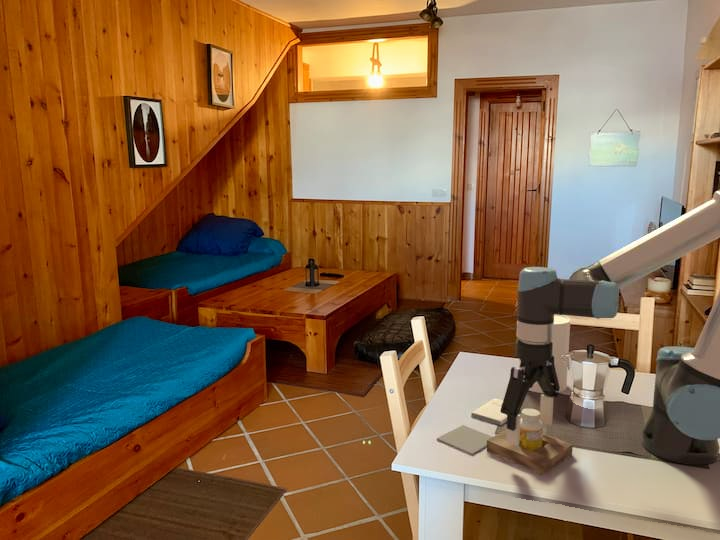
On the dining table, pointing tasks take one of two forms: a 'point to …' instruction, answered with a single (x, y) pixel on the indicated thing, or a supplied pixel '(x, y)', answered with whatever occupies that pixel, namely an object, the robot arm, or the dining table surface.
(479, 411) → the external hard drive
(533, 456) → the block
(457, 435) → the felt pad
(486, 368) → the dining table surface
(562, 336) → the canister
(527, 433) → the supplement bottle
